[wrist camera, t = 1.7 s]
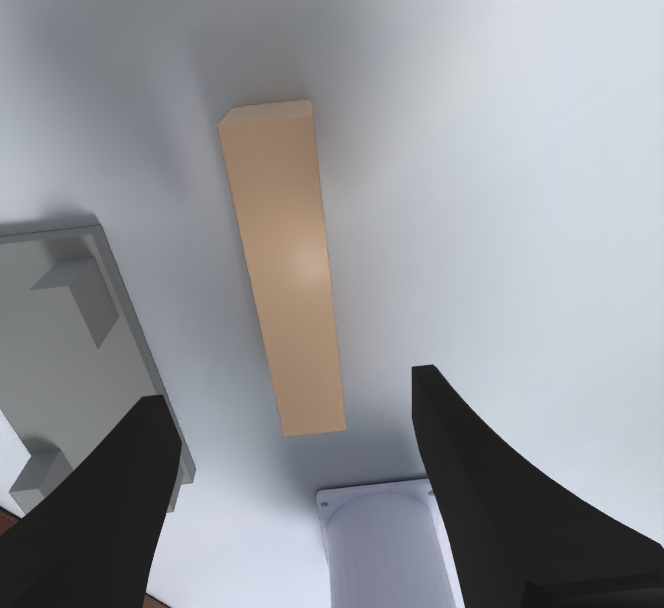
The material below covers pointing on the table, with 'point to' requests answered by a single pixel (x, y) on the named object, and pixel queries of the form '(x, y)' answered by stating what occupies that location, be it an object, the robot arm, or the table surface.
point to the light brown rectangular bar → (287, 257)
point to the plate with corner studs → (69, 355)
